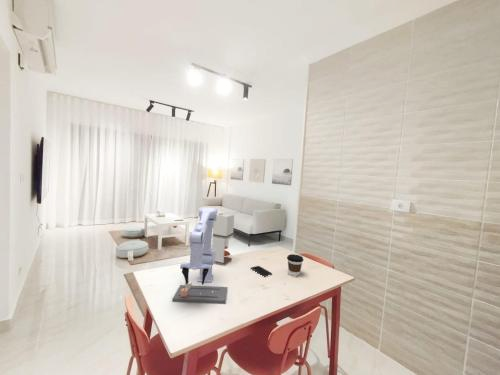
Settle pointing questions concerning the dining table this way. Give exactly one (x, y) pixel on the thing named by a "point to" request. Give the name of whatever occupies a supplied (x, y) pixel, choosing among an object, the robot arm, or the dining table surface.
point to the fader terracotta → (184, 292)
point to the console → (202, 294)
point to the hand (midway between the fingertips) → (194, 283)
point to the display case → (222, 237)
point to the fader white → (188, 285)
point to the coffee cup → (294, 264)
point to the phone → (261, 271)
